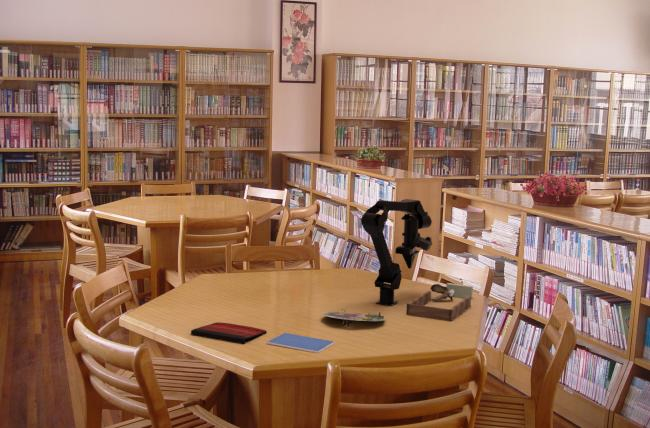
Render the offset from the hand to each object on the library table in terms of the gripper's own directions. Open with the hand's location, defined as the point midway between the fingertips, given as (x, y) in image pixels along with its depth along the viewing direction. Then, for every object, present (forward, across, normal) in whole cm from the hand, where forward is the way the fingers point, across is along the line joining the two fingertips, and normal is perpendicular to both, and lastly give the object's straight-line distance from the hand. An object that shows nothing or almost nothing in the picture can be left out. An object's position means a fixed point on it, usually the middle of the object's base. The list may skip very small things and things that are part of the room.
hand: (409, 268), depth 318 cm
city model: (+13, -44, +4) cm, 46 cm away
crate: (+12, -14, -18) cm, 25 cm away
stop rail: (+12, +11, -18) cm, 24 cm away
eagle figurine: (+12, +2, -14) cm, 18 cm away
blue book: (+13, -78, +8) cm, 79 cm away
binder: (+13, -80, +34) cm, 88 cm away
